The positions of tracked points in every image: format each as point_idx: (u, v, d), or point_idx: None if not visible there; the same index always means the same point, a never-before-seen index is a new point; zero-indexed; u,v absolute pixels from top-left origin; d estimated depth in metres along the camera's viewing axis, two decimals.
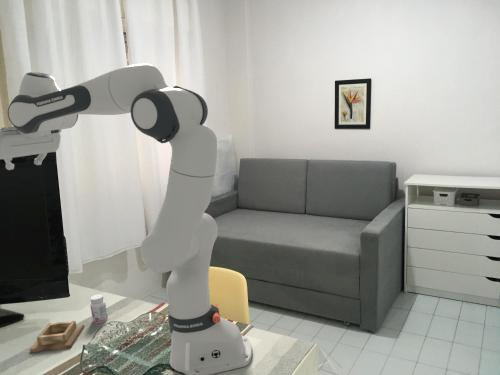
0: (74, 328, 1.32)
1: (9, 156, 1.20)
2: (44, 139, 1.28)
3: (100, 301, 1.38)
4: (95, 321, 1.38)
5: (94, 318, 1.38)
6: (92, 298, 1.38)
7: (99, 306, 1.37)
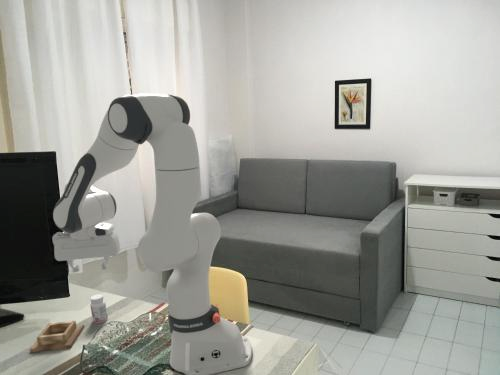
0: (74, 328, 1.32)
1: (65, 258, 1.34)
2: (98, 242, 1.34)
3: (100, 301, 1.38)
4: (95, 321, 1.38)
5: (94, 318, 1.38)
6: (92, 298, 1.38)
7: (99, 306, 1.37)
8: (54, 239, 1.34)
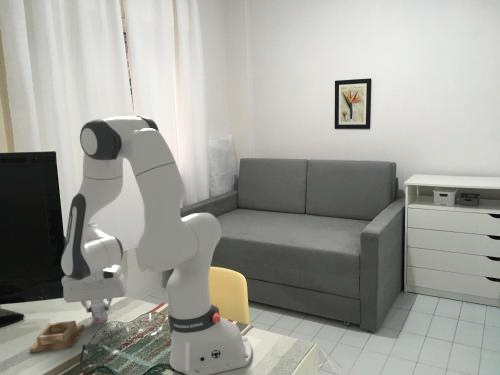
0: (74, 328, 1.32)
1: (74, 300, 1.37)
2: (106, 284, 1.37)
3: (100, 301, 1.38)
4: (95, 321, 1.38)
5: (94, 318, 1.38)
6: None
7: (99, 306, 1.37)
8: (63, 281, 1.37)
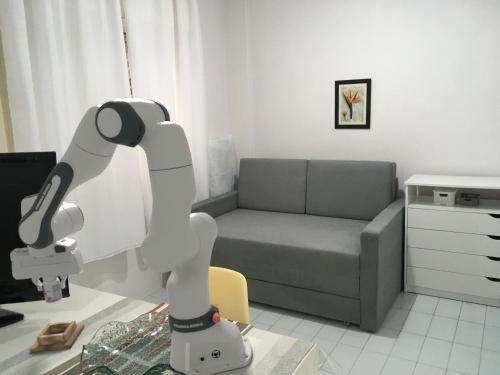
0: (74, 328, 1.32)
1: (23, 276, 1.25)
2: (59, 260, 1.25)
3: (53, 279, 1.26)
4: (47, 301, 1.26)
5: (46, 297, 1.26)
6: None
7: (52, 284, 1.25)
8: (12, 256, 1.25)
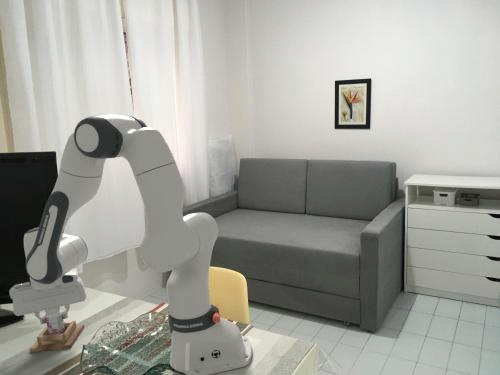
0: (74, 328, 1.32)
1: (26, 312, 1.24)
2: (64, 290, 1.27)
3: (57, 310, 1.27)
4: (52, 333, 1.27)
5: (51, 330, 1.27)
6: None
7: (57, 315, 1.27)
8: (12, 293, 1.23)
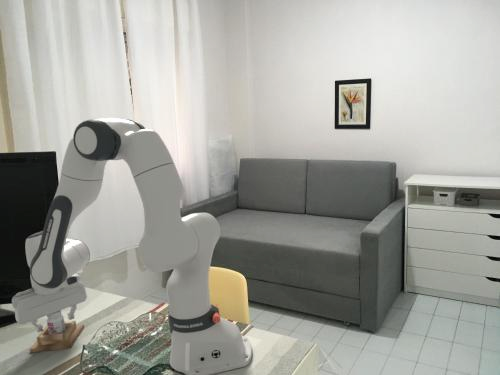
0: (74, 328, 1.32)
1: (31, 319, 1.22)
2: (67, 292, 1.29)
3: (60, 314, 1.28)
4: None
5: None
6: None
7: (61, 319, 1.28)
8: (15, 301, 1.20)
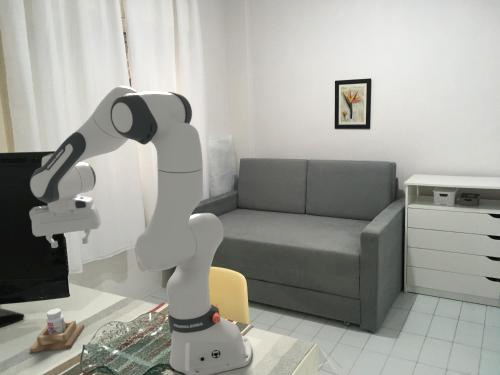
0: (74, 328, 1.32)
1: (43, 233, 1.31)
2: (78, 216, 1.32)
3: (60, 314, 1.28)
4: None
5: None
6: (51, 313, 1.27)
7: (61, 319, 1.28)
8: (31, 214, 1.30)
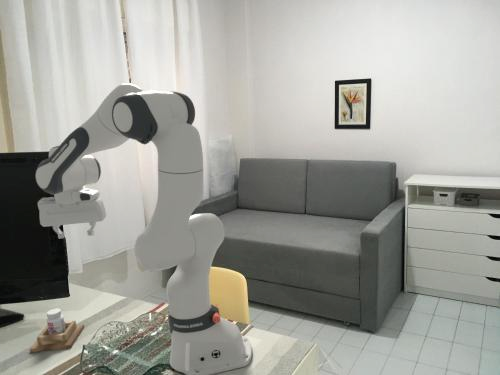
0: (74, 328, 1.32)
1: (50, 224, 1.34)
2: (83, 208, 1.34)
3: (60, 314, 1.28)
4: None
5: None
6: (51, 313, 1.27)
7: (61, 319, 1.28)
8: (39, 205, 1.34)
